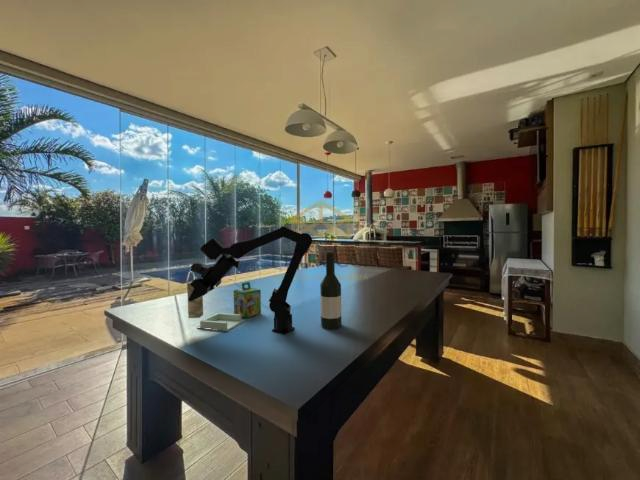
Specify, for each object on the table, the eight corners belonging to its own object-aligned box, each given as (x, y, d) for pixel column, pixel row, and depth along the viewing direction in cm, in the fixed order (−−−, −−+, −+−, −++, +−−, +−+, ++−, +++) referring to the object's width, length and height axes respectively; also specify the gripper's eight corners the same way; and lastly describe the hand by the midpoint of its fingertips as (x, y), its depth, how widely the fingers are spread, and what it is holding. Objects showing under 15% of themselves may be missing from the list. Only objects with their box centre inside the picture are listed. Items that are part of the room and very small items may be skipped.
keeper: (243, 321, 118) (243, 314, 118) (227, 331, 107) (227, 323, 107) (215, 319, 122) (215, 312, 122) (196, 328, 110) (196, 321, 110)
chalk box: (245, 318, 122) (244, 285, 122) (233, 315, 128) (232, 283, 127) (261, 313, 130) (261, 282, 129) (249, 310, 135) (248, 280, 135)
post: (203, 314, 106) (202, 280, 106) (199, 317, 102) (198, 282, 102) (192, 315, 106) (191, 281, 105) (188, 318, 102) (187, 283, 101)
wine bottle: (340, 330, 106) (339, 252, 105) (318, 328, 108) (317, 252, 107) (342, 322, 114) (341, 250, 113) (323, 321, 116) (321, 250, 115)
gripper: (212, 252, 113) (185, 280, 112) (195, 256, 94) (163, 289, 94) (232, 270, 114) (206, 298, 113) (219, 278, 95) (187, 311, 95)
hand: (191, 299), depth 104 cm, fingers closed on post, 4 cm apart
